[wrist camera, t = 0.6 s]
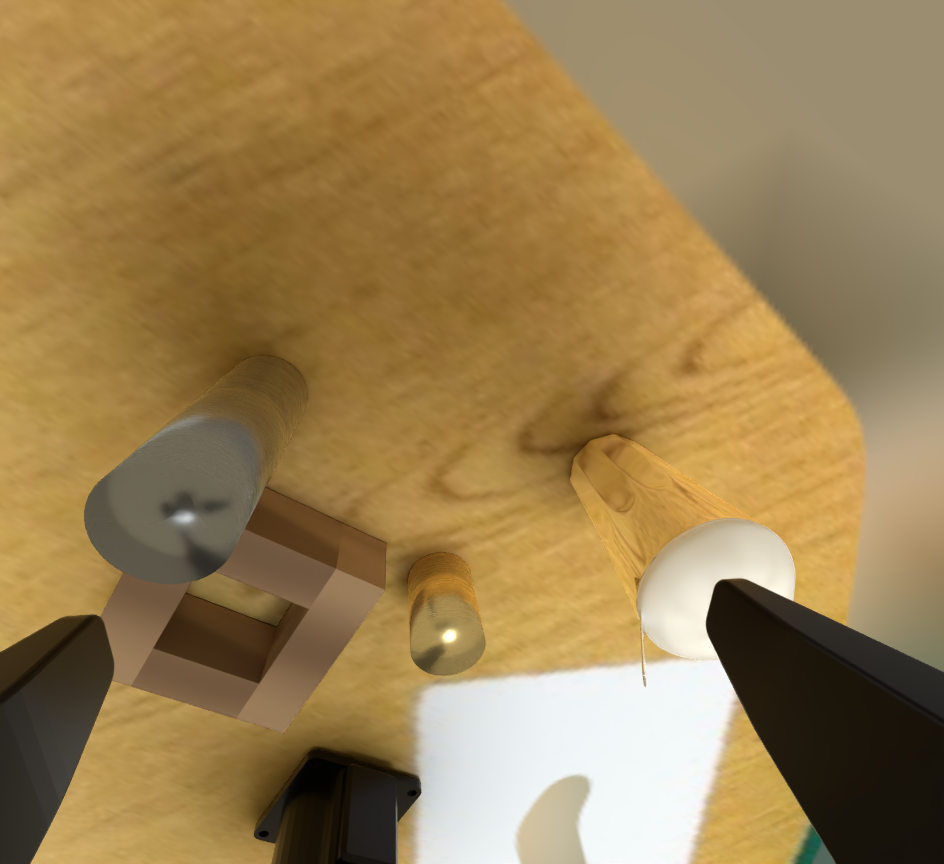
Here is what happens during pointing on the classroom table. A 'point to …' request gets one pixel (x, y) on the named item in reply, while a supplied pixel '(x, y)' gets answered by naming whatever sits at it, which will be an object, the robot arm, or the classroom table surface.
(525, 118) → the classroom table surface
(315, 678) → the collar
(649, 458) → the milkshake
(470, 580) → the short pin
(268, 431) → the long pin
